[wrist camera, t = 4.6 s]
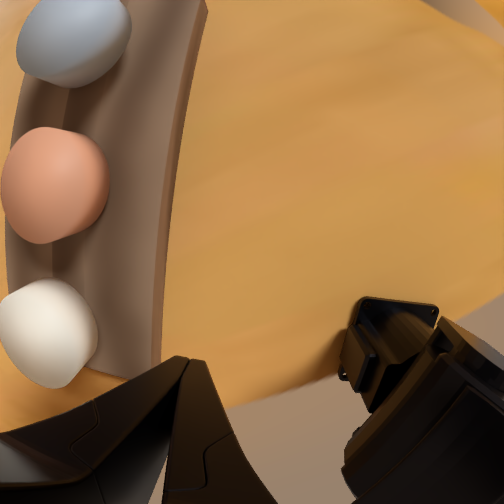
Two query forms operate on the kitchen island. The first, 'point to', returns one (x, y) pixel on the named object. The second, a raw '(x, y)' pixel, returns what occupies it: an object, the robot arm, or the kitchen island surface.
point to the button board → (120, 181)
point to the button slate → (73, 40)
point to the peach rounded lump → (54, 184)
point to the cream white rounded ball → (48, 331)
